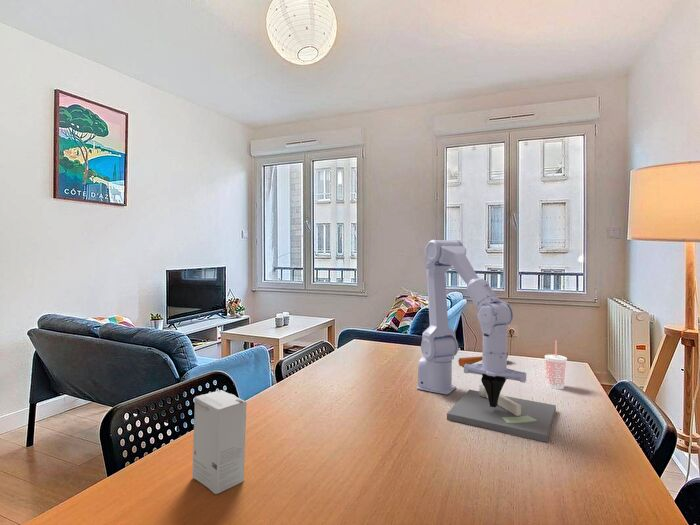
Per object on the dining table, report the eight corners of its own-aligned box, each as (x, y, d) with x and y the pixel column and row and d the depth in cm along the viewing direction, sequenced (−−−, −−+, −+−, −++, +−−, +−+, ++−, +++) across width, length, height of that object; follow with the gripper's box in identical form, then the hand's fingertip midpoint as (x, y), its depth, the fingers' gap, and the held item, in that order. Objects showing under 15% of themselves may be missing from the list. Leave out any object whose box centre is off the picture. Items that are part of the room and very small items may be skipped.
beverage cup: (544, 388, 122) (545, 341, 122) (543, 382, 128) (544, 337, 127) (567, 391, 120) (568, 343, 119) (565, 384, 125) (566, 339, 125)
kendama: (454, 353, 147) (498, 344, 155) (457, 370, 147) (501, 360, 154) (465, 354, 142) (509, 345, 149) (468, 372, 141) (512, 361, 149)
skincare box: (191, 478, 73) (190, 396, 73) (221, 465, 78) (220, 388, 78) (217, 496, 68) (216, 408, 68) (247, 481, 73) (247, 398, 72)
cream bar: (477, 393, 112) (477, 385, 112) (486, 393, 113) (486, 384, 113) (513, 416, 97) (513, 406, 97) (524, 415, 98) (524, 405, 98)
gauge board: (446, 419, 99) (446, 412, 99) (469, 394, 116) (469, 388, 116) (546, 442, 88) (546, 434, 88) (555, 411, 105) (555, 404, 105)
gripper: (460, 350, 101) (459, 404, 102) (523, 359, 94) (522, 417, 94) (468, 345, 107) (467, 396, 108) (528, 352, 100) (527, 407, 100)
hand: (493, 405), depth 101 cm, fingers closed
